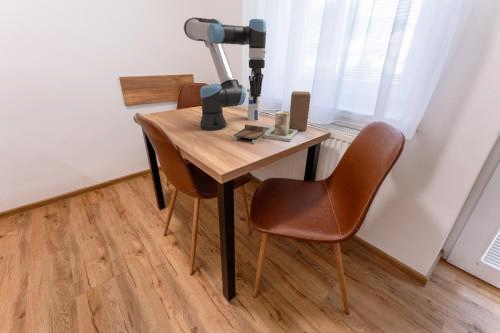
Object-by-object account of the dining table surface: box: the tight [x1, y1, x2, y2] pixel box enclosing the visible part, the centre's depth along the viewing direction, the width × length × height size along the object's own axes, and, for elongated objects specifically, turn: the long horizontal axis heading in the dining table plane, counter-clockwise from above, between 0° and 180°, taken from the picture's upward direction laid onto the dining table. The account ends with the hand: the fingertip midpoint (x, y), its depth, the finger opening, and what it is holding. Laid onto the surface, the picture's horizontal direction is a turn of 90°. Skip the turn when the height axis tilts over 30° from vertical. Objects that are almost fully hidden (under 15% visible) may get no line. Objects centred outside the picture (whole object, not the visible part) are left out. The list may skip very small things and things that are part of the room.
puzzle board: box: [233, 123, 299, 145], centre depth 114 cm, size 27×26×2 cm
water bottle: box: [246, 87, 260, 121], centre depth 141 cm, size 8×9×25 cm
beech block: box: [273, 110, 290, 137], centre depth 113 cm, size 6×6×12 cm
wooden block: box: [289, 90, 311, 132], centre depth 123 cm, size 10×10×20 cm
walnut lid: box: [233, 123, 265, 140], centre depth 110 cm, size 12×12×3 cm
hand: (255, 109), depth 113 cm, fingers closed
